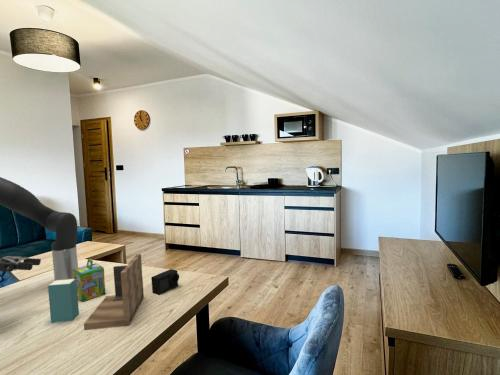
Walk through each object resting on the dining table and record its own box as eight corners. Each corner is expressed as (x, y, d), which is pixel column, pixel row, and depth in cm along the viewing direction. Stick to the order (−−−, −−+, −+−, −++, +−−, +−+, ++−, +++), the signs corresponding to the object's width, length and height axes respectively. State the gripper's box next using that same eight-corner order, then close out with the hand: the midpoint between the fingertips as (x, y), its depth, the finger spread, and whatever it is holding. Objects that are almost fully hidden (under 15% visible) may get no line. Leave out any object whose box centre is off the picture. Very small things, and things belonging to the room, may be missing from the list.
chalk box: (74, 296, 118) (71, 261, 117) (97, 288, 125) (95, 255, 124) (82, 302, 112) (79, 265, 111) (106, 294, 119) (103, 259, 118)
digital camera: (160, 296, 116) (159, 279, 115) (152, 293, 119) (151, 276, 118) (180, 286, 124) (179, 270, 124) (171, 284, 127) (170, 268, 127)
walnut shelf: (106, 300, 113) (103, 256, 111) (143, 297, 114) (140, 253, 113) (84, 329, 93) (79, 275, 91) (129, 325, 95) (125, 272, 93)
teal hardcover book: (58, 315, 102) (55, 280, 101) (79, 313, 103) (76, 278, 102) (51, 322, 98) (47, 285, 97) (72, 320, 99) (69, 283, 98)
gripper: (-32, 253, 87) (31, 256, 93) (-10, 247, 101) (44, 250, 106) (-38, 278, 87) (27, 280, 92) (-15, 269, 100) (40, 271, 106)
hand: (36, 264), depth 99 cm, fingers open, 8 cm apart
